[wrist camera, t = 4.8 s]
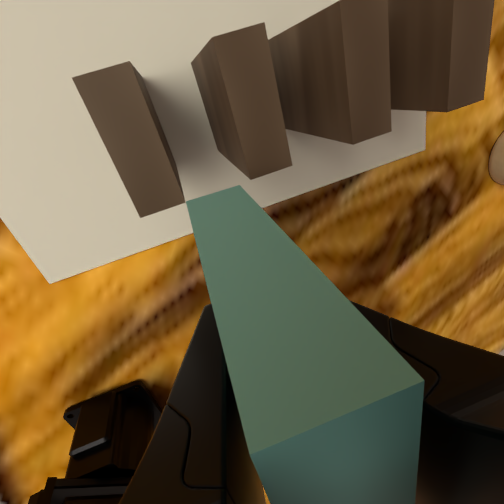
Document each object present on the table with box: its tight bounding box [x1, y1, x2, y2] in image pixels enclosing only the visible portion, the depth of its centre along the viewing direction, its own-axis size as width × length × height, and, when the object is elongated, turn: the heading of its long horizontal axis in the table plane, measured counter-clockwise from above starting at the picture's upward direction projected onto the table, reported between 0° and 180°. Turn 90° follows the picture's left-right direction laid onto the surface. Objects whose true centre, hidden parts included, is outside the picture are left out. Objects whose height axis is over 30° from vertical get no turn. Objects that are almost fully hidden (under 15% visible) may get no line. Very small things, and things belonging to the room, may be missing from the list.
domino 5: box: [388, 0, 494, 112], centre depth 15 cm, size 2×5×8 cm, turn 16°
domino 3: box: [268, 0, 392, 145], centre depth 15 cm, size 2×5×8 cm, turn 15°
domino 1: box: [72, 61, 186, 218], centre depth 14 cm, size 2×5×8 cm, turn 16°
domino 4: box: [186, 185, 425, 504], centre depth 7 cm, size 2×5×8 cm, turn 13°
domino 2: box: [191, 22, 293, 180], centre depth 14 cm, size 2×5×8 cm, turn 15°
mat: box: [0, 0, 426, 284], centre depth 18 cm, size 14×28×1 cm, turn 106°
